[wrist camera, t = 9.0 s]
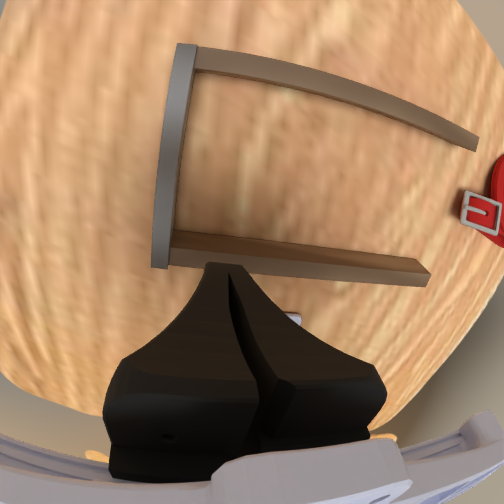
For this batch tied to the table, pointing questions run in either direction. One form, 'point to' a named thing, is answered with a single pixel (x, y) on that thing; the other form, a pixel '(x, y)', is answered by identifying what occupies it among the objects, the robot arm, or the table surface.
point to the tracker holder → (487, 208)
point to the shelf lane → (261, 251)
